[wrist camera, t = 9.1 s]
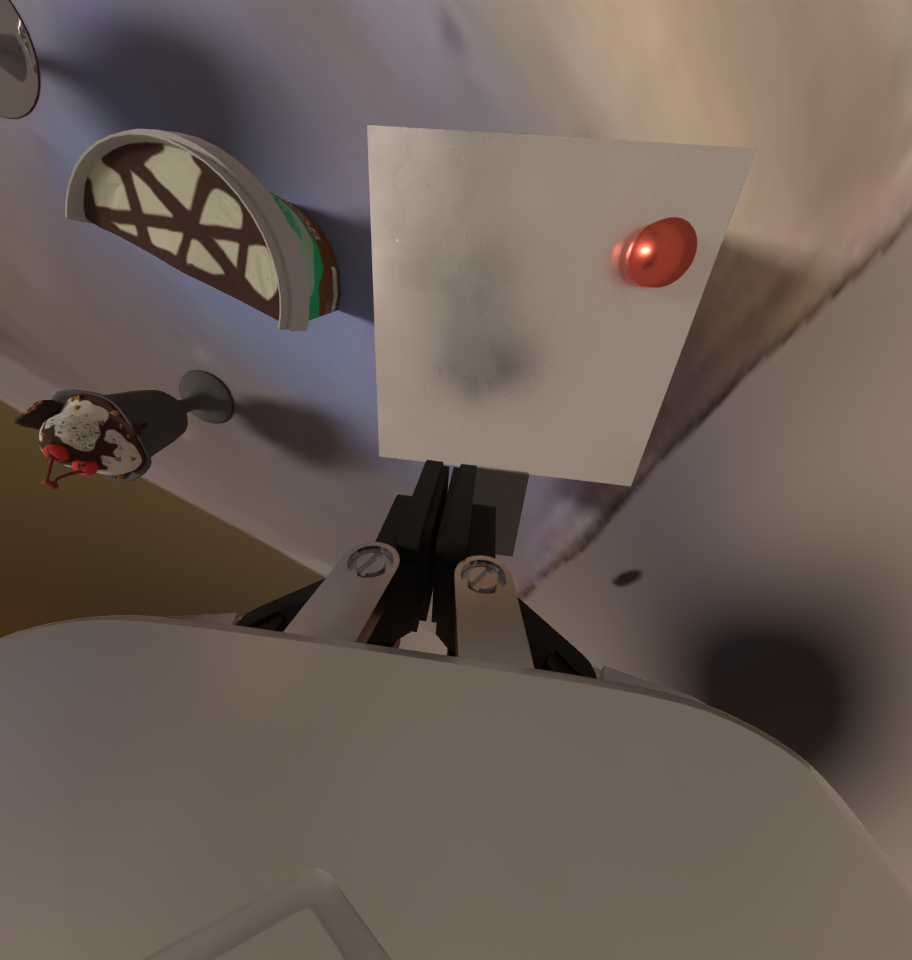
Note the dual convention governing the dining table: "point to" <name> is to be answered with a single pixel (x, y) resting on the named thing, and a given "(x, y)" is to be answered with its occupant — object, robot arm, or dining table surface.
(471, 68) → the dining table surface
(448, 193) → the lid
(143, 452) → the sundae
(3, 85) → the wine glass
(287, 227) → the food container
